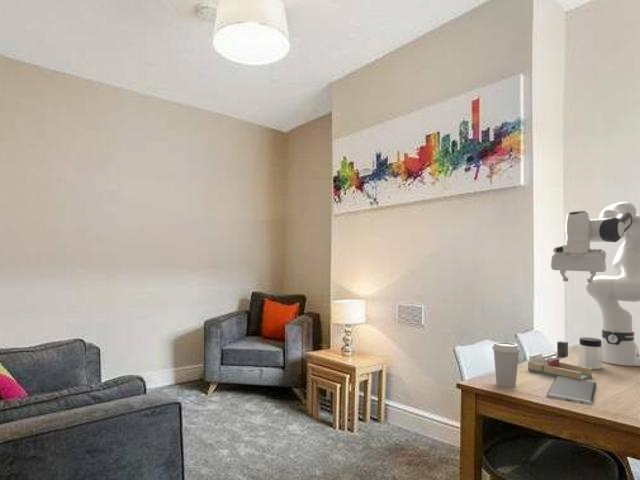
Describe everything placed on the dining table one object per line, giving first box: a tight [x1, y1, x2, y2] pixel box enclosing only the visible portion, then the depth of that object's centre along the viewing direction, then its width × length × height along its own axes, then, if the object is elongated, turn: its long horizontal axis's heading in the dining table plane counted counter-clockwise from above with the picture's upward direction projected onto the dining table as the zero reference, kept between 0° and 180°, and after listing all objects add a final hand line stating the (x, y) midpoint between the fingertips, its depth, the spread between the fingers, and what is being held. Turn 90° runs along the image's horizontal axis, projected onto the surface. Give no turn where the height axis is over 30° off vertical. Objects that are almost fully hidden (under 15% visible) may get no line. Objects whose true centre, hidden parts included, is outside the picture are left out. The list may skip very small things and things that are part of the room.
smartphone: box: [546, 376, 597, 406], centre depth 156 cm, size 13×27×2 cm, turn 145°
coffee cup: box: [491, 341, 521, 388], centre depth 161 cm, size 10×10×15 cm
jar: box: [577, 336, 604, 370], centre depth 190 cm, size 9×8×12 cm
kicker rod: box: [546, 340, 569, 368], centre depth 181 cm, size 15×3×10 cm, turn 128°
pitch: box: [527, 352, 593, 381], centre depth 178 cm, size 11×20×7 cm, turn 38°
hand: (577, 282), depth 183 cm, fingers open, 8 cm apart
